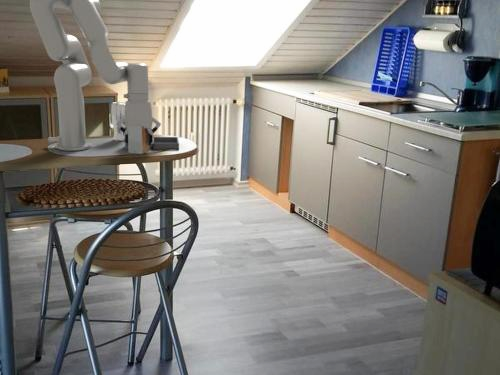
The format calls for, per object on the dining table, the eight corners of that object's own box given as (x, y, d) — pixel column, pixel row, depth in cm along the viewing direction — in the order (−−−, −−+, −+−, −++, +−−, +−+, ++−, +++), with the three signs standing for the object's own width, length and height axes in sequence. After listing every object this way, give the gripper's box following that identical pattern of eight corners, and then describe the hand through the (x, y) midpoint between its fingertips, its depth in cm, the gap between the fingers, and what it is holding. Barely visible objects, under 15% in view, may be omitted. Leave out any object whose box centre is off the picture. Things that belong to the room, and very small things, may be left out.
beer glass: (130, 138, 250) (129, 102, 246) (128, 141, 244) (127, 104, 240) (114, 137, 250) (112, 101, 246) (110, 141, 243) (109, 104, 239)
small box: (142, 154, 223) (141, 126, 220) (128, 153, 224) (127, 125, 221) (150, 150, 230) (149, 122, 227) (136, 149, 231) (135, 121, 228)
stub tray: (152, 149, 231) (152, 143, 230) (152, 143, 242) (152, 137, 242) (178, 149, 232) (178, 143, 232) (177, 143, 244) (177, 137, 243)
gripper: (113, 98, 216) (114, 146, 221) (162, 99, 219) (162, 146, 224) (114, 95, 224) (116, 142, 228) (161, 96, 226) (162, 142, 231)
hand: (139, 144), depth 226 cm, fingers open, 7 cm apart
